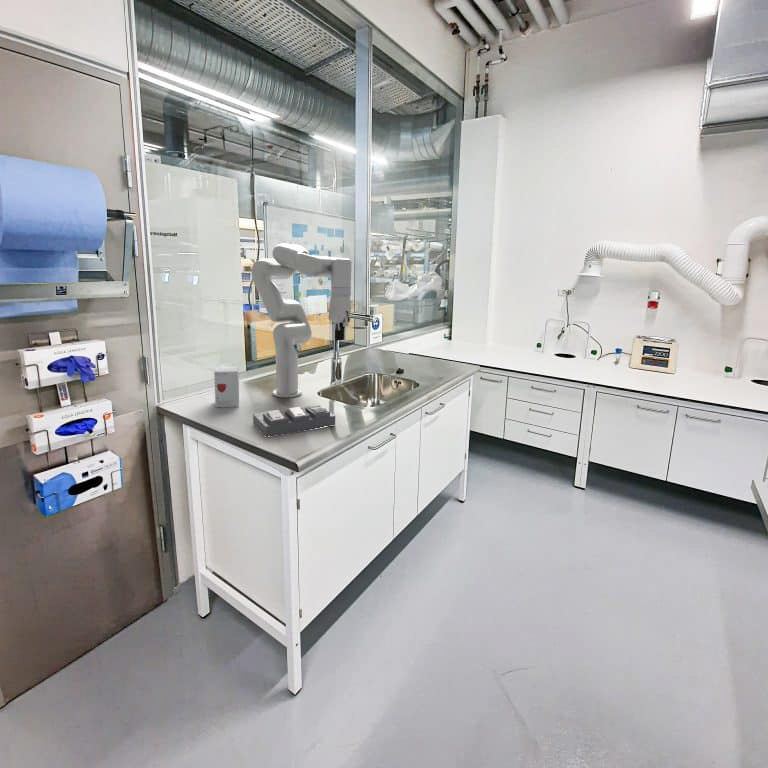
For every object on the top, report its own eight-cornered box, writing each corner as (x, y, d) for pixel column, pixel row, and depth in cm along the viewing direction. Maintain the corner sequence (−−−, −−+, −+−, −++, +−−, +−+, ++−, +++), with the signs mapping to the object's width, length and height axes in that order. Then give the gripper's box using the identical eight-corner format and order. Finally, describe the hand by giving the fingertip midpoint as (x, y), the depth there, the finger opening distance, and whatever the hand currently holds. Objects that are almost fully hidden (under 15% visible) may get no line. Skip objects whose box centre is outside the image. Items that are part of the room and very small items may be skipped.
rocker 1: (267, 414, 158) (267, 410, 157) (278, 412, 160) (278, 409, 159) (272, 422, 153) (273, 419, 153) (284, 421, 155) (284, 417, 155)
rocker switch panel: (253, 424, 163) (252, 409, 161) (318, 414, 177) (319, 400, 175) (266, 437, 152) (265, 422, 150) (335, 425, 166) (335, 411, 164)
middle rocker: (288, 411, 162) (289, 407, 161) (299, 409, 164) (299, 406, 164) (295, 419, 158) (295, 416, 157) (305, 417, 160) (305, 414, 159)
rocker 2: (309, 411, 167) (309, 407, 166) (319, 409, 169) (318, 406, 169) (316, 412, 162) (315, 409, 161) (326, 411, 164) (325, 407, 164)
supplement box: (215, 408, 178) (213, 371, 174) (216, 401, 186) (215, 366, 182) (239, 407, 180) (237, 371, 176) (239, 400, 189) (238, 365, 185)
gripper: (323, 290, 174) (322, 337, 179) (341, 293, 162) (340, 343, 167) (340, 290, 178) (339, 336, 183) (359, 293, 166) (357, 342, 171)
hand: (339, 339), depth 175 cm, fingers closed
